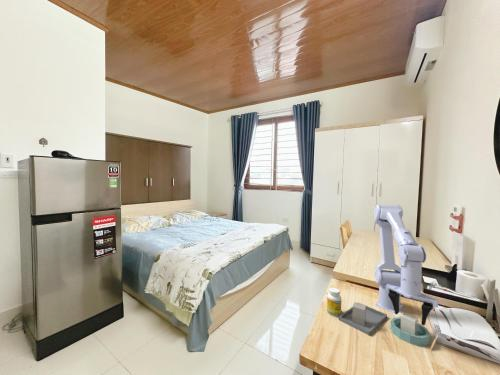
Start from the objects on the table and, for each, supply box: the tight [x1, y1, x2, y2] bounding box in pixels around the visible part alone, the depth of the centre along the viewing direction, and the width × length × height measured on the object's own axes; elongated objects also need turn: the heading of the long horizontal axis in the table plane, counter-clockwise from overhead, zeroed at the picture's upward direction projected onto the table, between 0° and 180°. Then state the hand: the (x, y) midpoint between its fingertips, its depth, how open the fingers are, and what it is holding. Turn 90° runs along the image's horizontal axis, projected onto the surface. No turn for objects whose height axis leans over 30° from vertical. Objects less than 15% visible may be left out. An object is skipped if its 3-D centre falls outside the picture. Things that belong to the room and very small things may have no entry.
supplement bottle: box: [326, 287, 342, 318], centre depth 86 cm, size 5×5×10 cm
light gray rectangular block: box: [352, 301, 367, 326], centre depth 81 cm, size 4×4×6 cm
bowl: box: [390, 316, 431, 347], centre depth 74 cm, size 11×11×3 cm
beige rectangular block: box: [400, 311, 419, 336], centre depth 74 cm, size 4×4×6 cm
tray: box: [338, 302, 388, 336], centre depth 83 cm, size 17×11×2 cm, turn 130°
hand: (409, 318), depth 74 cm, fingers open, 7 cm apart
